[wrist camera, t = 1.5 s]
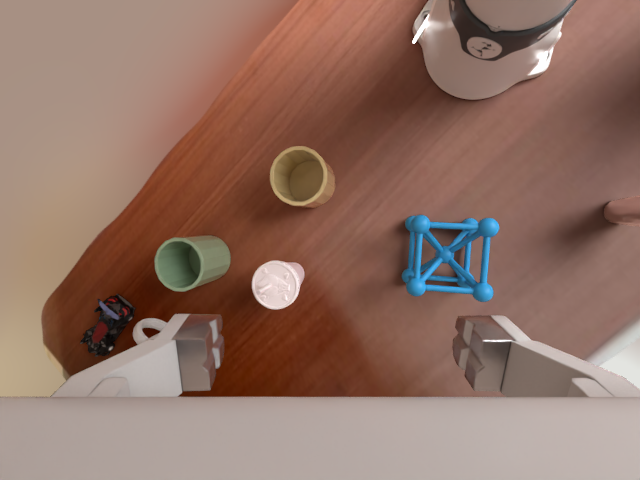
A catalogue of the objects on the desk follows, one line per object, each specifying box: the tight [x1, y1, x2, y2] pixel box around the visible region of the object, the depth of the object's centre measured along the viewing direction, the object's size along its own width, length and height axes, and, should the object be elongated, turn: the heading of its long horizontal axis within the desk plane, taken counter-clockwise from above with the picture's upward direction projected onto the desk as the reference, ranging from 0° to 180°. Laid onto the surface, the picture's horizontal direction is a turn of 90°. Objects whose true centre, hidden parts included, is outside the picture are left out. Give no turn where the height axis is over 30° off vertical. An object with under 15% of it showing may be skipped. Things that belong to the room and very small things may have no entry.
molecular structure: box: [402, 215, 499, 302], centre depth 43 cm, size 10×10×10 cm
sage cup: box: [155, 235, 231, 292], centre depth 50 cm, size 8×8×8 cm
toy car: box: [80, 294, 136, 357], centre depth 57 cm, size 6×12×4 cm, turn 144°
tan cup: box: [270, 146, 335, 208], centre depth 47 cm, size 8×8×8 cm
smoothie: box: [252, 261, 304, 309], centre depth 45 cm, size 6×6×14 cm
